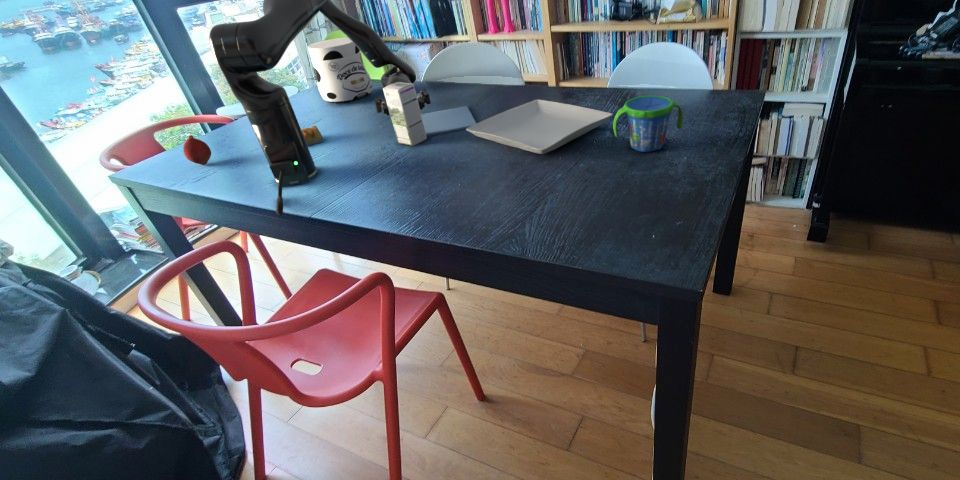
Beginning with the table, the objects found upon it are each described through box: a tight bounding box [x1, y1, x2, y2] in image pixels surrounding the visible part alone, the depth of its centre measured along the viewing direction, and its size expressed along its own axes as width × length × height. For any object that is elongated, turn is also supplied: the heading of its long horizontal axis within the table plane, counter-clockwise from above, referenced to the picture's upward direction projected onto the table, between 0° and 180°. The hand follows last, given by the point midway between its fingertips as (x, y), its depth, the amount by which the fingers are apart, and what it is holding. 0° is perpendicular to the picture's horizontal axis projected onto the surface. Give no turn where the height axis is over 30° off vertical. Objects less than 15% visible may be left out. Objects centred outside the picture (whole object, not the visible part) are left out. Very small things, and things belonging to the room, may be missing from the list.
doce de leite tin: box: [307, 37, 374, 105], centre depth 159 cm, size 17×17×18 cm
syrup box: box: [382, 82, 428, 147], centre depth 123 cm, size 6×6×14 cm
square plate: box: [465, 99, 614, 155], centre depth 122 cm, size 27×27×4 cm
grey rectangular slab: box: [421, 105, 478, 137], centre depth 137 cm, size 18×14×1 cm
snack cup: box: [612, 94, 684, 153], centre depth 108 cm, size 16×10×10 cm
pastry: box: [301, 125, 324, 146], centre depth 132 cm, size 9×7×4 cm
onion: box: [182, 134, 212, 166], centre depth 124 cm, size 6×6×8 cm
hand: (404, 108), depth 122 cm, fingers open, 8 cm apart
